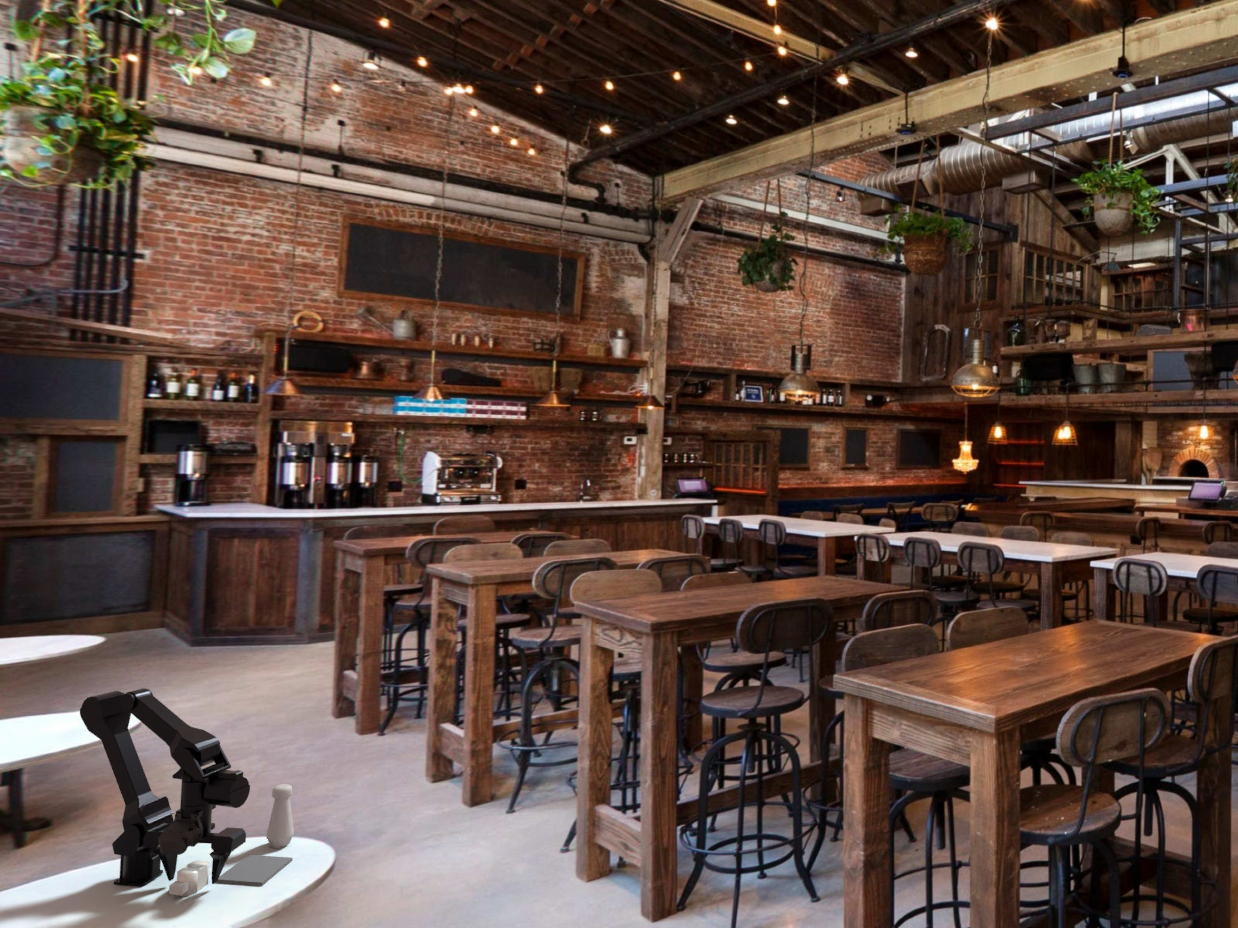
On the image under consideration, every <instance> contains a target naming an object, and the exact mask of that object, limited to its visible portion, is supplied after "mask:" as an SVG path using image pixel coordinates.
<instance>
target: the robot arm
mask: <svg viewBox="0 0 1238 928" xmlns="http://www.w3.org/2000/svg"><path fill="white" fill-rule="evenodd" d="M79 715H80V716H79V717H80V718H81V720H82V722H83V724H84V726H85V728H86V729H87V730H88V732H90V734H92V735H94V737H96V738H97V739H99V740H100V742H101V744H102V746H103V749H104V751H105V753H106V756H107V759H108V762H109V765H110V767H111V770H112V773H113V775H114V778H115V780H116V784H117V786H118V788H119V792H120V794H121V796H122V800H123V802H124V806H125V807H124V811H123V815H122V819H121V820H122V821H121V823H122V827H123V832H122V833H121V834H120V835H119V836H117V838H116V839H115V840H114V841H113V842H112V844H111V846H112V850H113V854H114V855H119V856H120V862H119V877H117V878H116V879H115V880H113V884H114V885H123V886H137V887H143V886H145V885H147V884H149V883H150V882H152V881H153V880H154V879H156V878H157V877H159V876H160V875H162V874H163V873H164V872H165V874H166V878H167V880H168V881H169V882H171V881H173V880H174V878H175V875H176V872H177V870H176V869H177V863H178V857H179V855H182V854H184V853H186V851H187V850H188V848H189V847H196V846H197V844H210V848H211V850H212V852H210V853H209V855H210V858H212V866H211V884H212V885H215V884H216V883H218V882H217V880H218V878H219V876H221V875H222V871H223V870H224V867H225V865H226V863H227V861H228V859H229V858H230V856H231V854H232V852H234V851H235V850H236V849H238V848H239V847H240V846H242V845H243V844H245V843H247V842H246V841H247V839H246V838H247V833H246V830H244V828H243V827H242V828H239V827H226V828H223V829H222V830H221V831H219V832H218V833H217V832H212V831H213V830H214V829H216V822H212V818H213V817H212V815H213V810H214V809H216V808H217V806H218V807H219V806H220V807H225V808H234V809H239V808H241V807H242V806H243V805H244V804H245V802H246V801H247V799H248V798H249V794H250V793H251V792H250V791H251V785H250V783H249V782H250V781H249V780H248V779H247V777H244V771H243V770H241V769H236V770H230V769H231V768H232V765H231V763H230V761H229V758H228V757H227V756H226V754H225V752H224V750H223V748H222V747H221V746H222V745H221V741H220V740H219V739H218V737H217V736H215V735H214V734H212V733H210V732H208V731H207V730H205V729H201V728H199V727H198V728H197V727H193V726H190V725H189V724H188V723H186V722H185V721H184V720H183V719H181V717H180V716H178V715H176V713H175V712H173V711H172V710H171V709H170V708H168V707H167V706H166V705H165V704H163V703H162V702H161V701H160V700H159V699H158V698H156V697H155V695H154V694H153V691H151V690H150V689H149V688H145V687H143V688H139V689H134V690H130V691H128V692H125V693H124V692H121V691H119V690H112V691H108V692H105V693H101V694H96V695H92V696H89V697H87V698H85V699H84V700H83V702H82V703H81V707H80V708H79ZM131 715H133V716H134V717H135V718H136V719H137V720H139V721H140V722H141V723H142V724H143V725H145V727H146V728H148V729H149V730H150V731H151V732H153V733H154V735H156V736H157V737H158V738H159V739H161V740H162V741H163V742H164V743H166V745H167V746H168V748H169V752H170V757H171V758H172V759H173V761H175V763H176V764H177V765H178V767H179V769H178V770H177V771H176V772H174V774H173V775H172V776H171V777H172V779H174V780H175V779H177V780H181V786H180V788H181V789H180V804H179V805H180V808H179V809H177V810H175V812H174V811H173V809H172V808H171V806H170V801H169V798H168V797H167V795H163V796H161V797H159V796H157V795H156V793H154V792H153V791H152V789H151V786H150V783H149V781H148V778H147V776H146V775H147V774H146V773H145V770H144V768H143V765H142V763H141V762H142V761H141V760H140V758H139V754H138V751H137V749H136V747H135V743H134V742H133V739H132V737H131V734H130V731H129V725H130V720H131ZM213 763H214V764H213ZM207 765H209V766H207ZM205 766H207V767H205ZM202 767H204V768H202ZM173 815H174V817H173ZM161 863H162V866H163V869H161Z"/></svg>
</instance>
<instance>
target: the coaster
mask: <svg viewBox="0 0 1238 928" xmlns="http://www.w3.org/2000/svg"><path fill="white" fill-rule="evenodd" d="M292 861H293V857H288V856H286V857H285V856H273V855H272V856H271V855H261V854H260V855H259V854H247V856H245V857H244V858H242V859H241V860H239V861H238V862H236V864H234V865H233V866H232V867H230V868H229V869H227V870H225V872H223V873H221V874H220V876H219V878H218V880H217V882H216V883H220V884H223V883H224V884H235V885H247V886H249V885H250V886H264V885H265V884H266V883H268V881H270V880H271V879H273V877H275V876H276V875H277V874H278V873H279V872H280V871H282V870H283V869H284V868H285V867H286V866H288V865H289V864H290V863H291V862H292Z"/></svg>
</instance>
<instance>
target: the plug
mask: <svg viewBox="0 0 1238 928" xmlns="http://www.w3.org/2000/svg"><path fill="white" fill-rule="evenodd" d="M209 869H210V861H208V860H207V859H206V860H204V859H203V860H201V859H200V860H195V861H191V862H190V863H187V864H186V865H184V867H182V868H180V869H178V870H177V871H176V873H177V874H176V880H175V881H173V882H172V883H171V884H169V888H168V894H169V895H175V896H178V897H189V896H193V895H195V894H197V893H198V892H199V891H201V890H203V889H204V888H205V887H207V886H208V884H209V876H210V874H209V871H210V870H209Z"/></svg>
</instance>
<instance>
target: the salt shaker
mask: <svg viewBox="0 0 1238 928" xmlns="http://www.w3.org/2000/svg"><path fill="white" fill-rule="evenodd" d="M292 795H293V787H292V785H291V784H287V783H281V784H276V785H274V786H273V788H272V791H271V797H272V798H273V799H274V801H273V804H272V810H271V814H270V818H269V822H268V826H267V830H266V834H265V837H266V840H267V839H268V840H267V841H268V844H269V845H270V848H272V849H281V848H286V847H288V846H289V844H290V843H291V841H292V839H293V837H294V833H295V828H294V820H293V813H292V805H291V798H290V797H291V796H292Z"/></svg>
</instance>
